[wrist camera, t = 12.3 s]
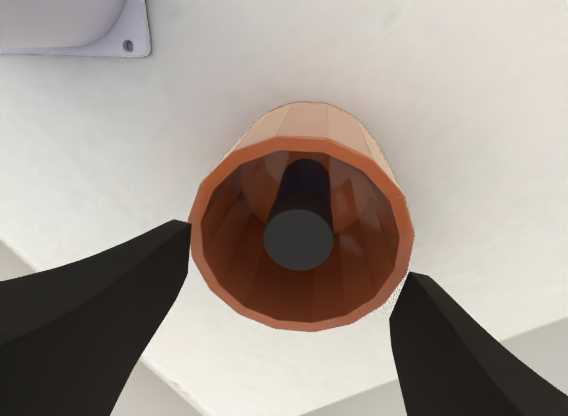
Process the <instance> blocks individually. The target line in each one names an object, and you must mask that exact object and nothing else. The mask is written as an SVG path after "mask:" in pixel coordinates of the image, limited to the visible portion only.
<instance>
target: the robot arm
mask: <svg viewBox="0 0 568 416" xmlns="http://www.w3.org/2000/svg"><path fill="white" fill-rule="evenodd" d="M128 41H131V42H132V44H133V50H132V51H130V50H129V49H128V48H127V42H128ZM150 51H151V44H150V36H149V28H148V20H147V12H146V5H145V0H0V54H31V55H69V56H107V57H146V56H147V55H149V53H150ZM191 228H192V223H187V222H183V221H178V220H171V221H169V222H167V223H164V224H162V225H160V226H158V227H156V228H154V229H152V230H150V231H148V232H146V233H144V234H142V235H140V236H137V237H135V238H133V239H131V240H129V241H127V242H125V243H122V244H120V245H117V246H115V247H113V248H110V249H108V250H105V251H103V252H101V253H98V254H96V255H93V256H90V257H88V258H85V259H82V260H79V261H76V262H73V263H70V264H67V265H64V266H61V267H57V268H54V269H50V270H46V271H42V272H38V273H34V274H31V275H27V276H22V277H18V278H15V279H10V280H5V281H0V416H110V414H111V412H112V410H113V408H114V406H115V404H116V402H117V400H118V398H119V395H120V394H121V392H122V390H123V388H124V386H125V384H126V382H127V379H128V378H129V376H130V373H131V372H132V370H133V368H134V366H135V364H136V363H137V361H138V359H139V358H140V356H141V354H142V353H143V351H144V350H145V348H146V346H147V345H148V343H149V342H150V340H151V338H152V337H153V335H154V334H155V332H156V331H157V329H158V327H159V326H160V324H161V323H162V321H163V320H164V318H165V316H166V315H167V313H168V312H169V310H170V308H171V307H172V305H173V304H174V302H175V300H176V298H177V296H178V294H179V292H180V290H181V288H182V285H183V283H184V281H185V279H186V276H187V274H188V262H189V251H190V240H191ZM389 324H390V337H391V346H392V352H393V356H394V361H395V365H396V370H397V374H398V378H399V382H400V387H401V391H402V395H403V399H404V404H405V408H406V412H407V416H568V396H567V395H566V394H564V393H563V392H561V391H560V390H558V389H557V388H556V387H554V386H553V385H551V384H550V383H549V382H547V381H546V380H545V379H543V378H542V377H541V376H539V375H538V374H537V373H536V372H534V371H533V370H532V369H530V368H529V367H528V366H527V365H525V364H524V363H523V362H521V361H520V360H519V359H518V358H516V357H515V356H514V355H513V354H512V353H510V352H509V351H508V350H507V349H506V348H505V347H503V346H502V345H501V344H500V343H499V342H498V341H497V340H496V339H494V338H493V337H492V336H491V335H490V334H489V333H488V332H487V331H486V330H485V329H483V328H482V327H481V326H480V325H479V324H478V323H477V322H476V321H475V320H474V319H473V318H472V317H471V316H470V315H469V314H468V313H467V312H466V311H465V310H464V309H463V308H462V307H461V306H460V305H459V304H458V303H457V302H456V301H455V300H454V299H453V298H452V297H451V296H450V295H448V294H447V293H446V292H445V291H444V290H443V289H442V288H441V287H440V286H439V285H438V284H437V283H436V282H435V281H434V280H433V279H432V278H430V277H429V276H428V275H423V274H418V273H414V272H409V274H408V276H407V278H406V281H405V283H404V285H403V288H402V290H401V292H400V295H399V297H398V299H397V302H396V304H395V307H394V309H393V311H392V314H391V316H390V318H389Z"/></svg>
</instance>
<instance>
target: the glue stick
mask: <svg viewBox="0 0 568 416" xmlns="http://www.w3.org/2000/svg"><path fill="white" fill-rule="evenodd" d="M263 243H264V247H265V250H266V251H267V253H268V255H269V256H270V257H271V259H272V260H273V261H275V262H276V263H277V264H279V265H280V266H282V267H285V268H287V269H291V270H299V271H301V270H309V269H312V268H315V267H317V266H319V265H320V264H322V263H323V262H324V261H325V260H326V259H327V258H328V257H329V255H330V253H331V252H332V249H333V245H334V234H333V215H332V211H331V190H330V176H329V173H328V171H327V170H326V168H325V167H324V166H323V165H322V164H321V163H319V162H317V161H315V160H312V159H300V160H296V161H294V162H293V163H291V164H290V165H289V166H288V167H287V168H286V170H285V171H284V173H283V176H282V180H281V183H280V186H279V189H278V192H277V196H276V199H275V202H274V204H273V205H272V208H271V211H270V214H269V217H268V220H267V223H266V226H265V229H264V233H263Z"/></svg>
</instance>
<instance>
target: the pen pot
mask: <svg viewBox="0 0 568 416" xmlns="http://www.w3.org/2000/svg"><path fill="white" fill-rule="evenodd" d="M300 159H312V160H315V161H317V162H319V163H321V164H322V165H323V166H324V167H325V168H326V170H327V171H328V173H329V176H330V190H331V211H332V215H333V234H334V245H333V249H332V252H331V253H330V255H329V257H328V258H327V259H326V260H325V261H324V262H323V263H322V264H320V265H319V266H317V267H315V268H312V269H309V270H301V271H299V270H291V269H287V268H285V267H282V266H280V265H279V264H277V263H276V262H275V261H273V260H272V259H271V257H270V256H269V255H268V253H267V251H266V250H265V247H264V243H263V233H264V229H265V226H266V223H267V220H268V217H269V214H270V211H271V208H272V205H273V204H274V202H275V199H276V196H277V192H278V189H279V186H280V183H281V180H282V176H283V173H284V171H285V170H286V168H287V167H288V166H289V165H290V164H291V163H293V162H294V161H296V160H300ZM188 223H192V228H191V240H190V245H191V254H192V258H193V260H194V262H195V264H196V266H197V267H198V269H199V271H200V273H201V274H202V276H203V278H204V280H205V282H206V283H207V285H208V287H209V289H210V290H211V291H212V292H213V293H215V294H216V295H217V296H218V297H219V298H220V299H222V300H223V301H224V302H225V303H226V304H228V305H229V306H230V307H231V308H232V309H233V310H235V311H236V312H237V313H238V314H239V313H240V315H242V316H245V317H247V318H250V319H252V320H255V321H257V322H260V323H262V324H264V325H267V326H269V327H272V328H275V329H284V330H295V331H305V332H317V331H321V330H326V329H330V328H335V327H340V326H344V325H349V324H351V323H354V322H355V321H357V320H359V319H360V318H362V317H364V316H365V315H367V314H368V313H370V312H372V311H373V310H375V309H377V308H378V307H380V306H382V305H383V304H384V303H385V302H386V301H387V299H388V298H389V297H390V295H391V294H392V293H393V291H394V290H395V289H396V287H397V286H398V285H399V283H400V282H401V281H402V279H403V278H404V277H405V275H406V273H407V271H408V266H409V261H410V256H411V251H412V246H413V241H414V229H413V226H412V222H411V219H410V215H409V211H408V208H407V204H406V200H405V197H404V194H403V192H402V190H401V188H400V186H399V185H398V183H397V181H396V179H395V177H394V175H393V173H392V171H391V169H390V167H389V165H388V163H387V161H386V160H385V158H384V156H383V154H382V152H381V150H380V148H379V146H378V144H377V142H376V141H375V140H374V138H373V137H372V136H371V135H370V133H369V132H368V131H367V129H366V128H365V127H364V126H363V125H362V124H361V123H360V122H359V121H358V120H357V119H356V118H354V117H353V116H351V115H350V114H348V113H347V112H345V111H343V110H341V109H339V108H336V107H334V106H331V105H327V104H323V103H317V102H298V103H292V104H287V105H284V106H281V107H278V108H276V109H274V110H272V111H270V112H268V113H266V114H264V115H263V116H262V117H261V118H260V119H259V120H258V121H256V122H255V123H254V124H253V125H252V126H251V127H250V128H249V129H248V130H247V131H246V132H245V133H244V134H243V135H242V137H241V138H240V139H239V140H238V141H237V142H236V143H235V144H234V146H233V147H232V148H231V149H230V150H229V151H228V152H227V153H226V155H225V156H224V157H223V158H222V159H221V160H220V161H219V162H218V164H217V165H216V166H215V167H214V168H213V169H212V170H211V172H210V173H209V174H208V175H207V176H206V177H205V178H204V179H203V181H202V182H201V184H200V186H199V189H198V192H197V195H196V197H195V200H194V203H193V206H192V209H191V212H190V214H189V217H188Z"/></svg>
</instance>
